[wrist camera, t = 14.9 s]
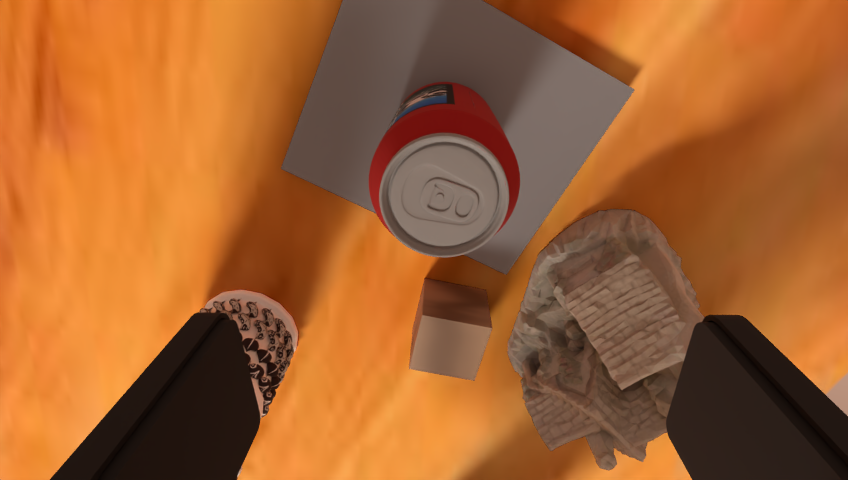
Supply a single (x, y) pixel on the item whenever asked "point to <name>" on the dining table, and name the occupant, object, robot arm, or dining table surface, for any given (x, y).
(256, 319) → the decorative candle
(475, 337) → the walnut block
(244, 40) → the dining table surface
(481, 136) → the beverage can
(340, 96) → the slate board
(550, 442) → the ceramic cottage
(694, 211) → the dining table surface
